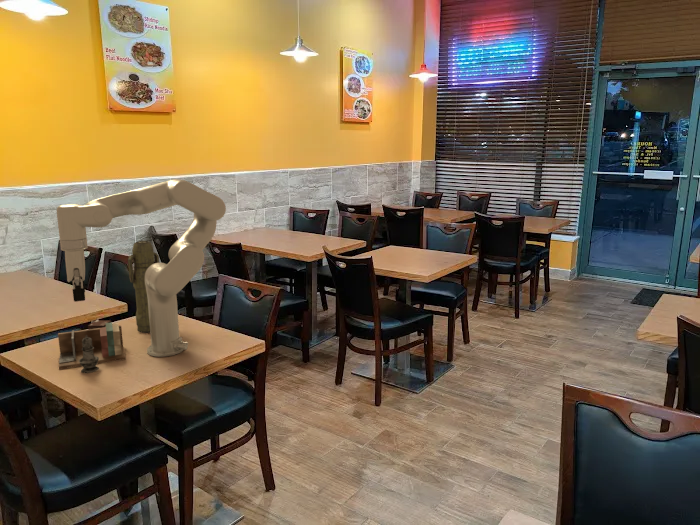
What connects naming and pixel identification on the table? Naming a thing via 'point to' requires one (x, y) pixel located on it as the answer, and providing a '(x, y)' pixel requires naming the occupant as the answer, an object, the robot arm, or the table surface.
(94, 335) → the shelf
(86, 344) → the dark grey chess piece
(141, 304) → the robed figure statue
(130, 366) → the table surface
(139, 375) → the table surface
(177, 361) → the table surface
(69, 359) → the bookend
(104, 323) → the box
